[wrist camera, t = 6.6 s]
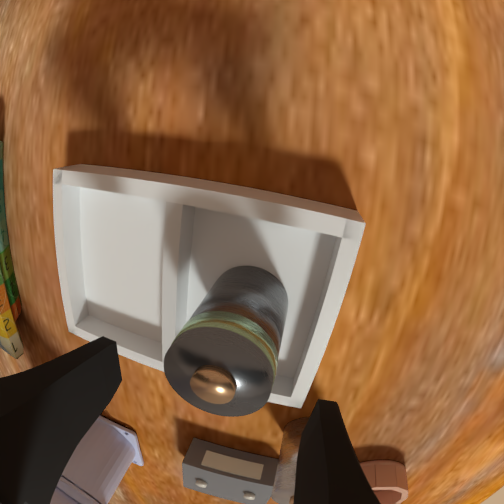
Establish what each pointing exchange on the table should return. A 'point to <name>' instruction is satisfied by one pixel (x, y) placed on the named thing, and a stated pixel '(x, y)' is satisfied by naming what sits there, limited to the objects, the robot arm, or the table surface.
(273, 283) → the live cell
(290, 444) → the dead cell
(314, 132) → the table surface
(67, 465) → the robot arm
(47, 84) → the table surface
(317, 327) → the tray
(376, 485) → the pink bowl
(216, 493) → the grey box with knobs
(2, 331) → the puzzle game
